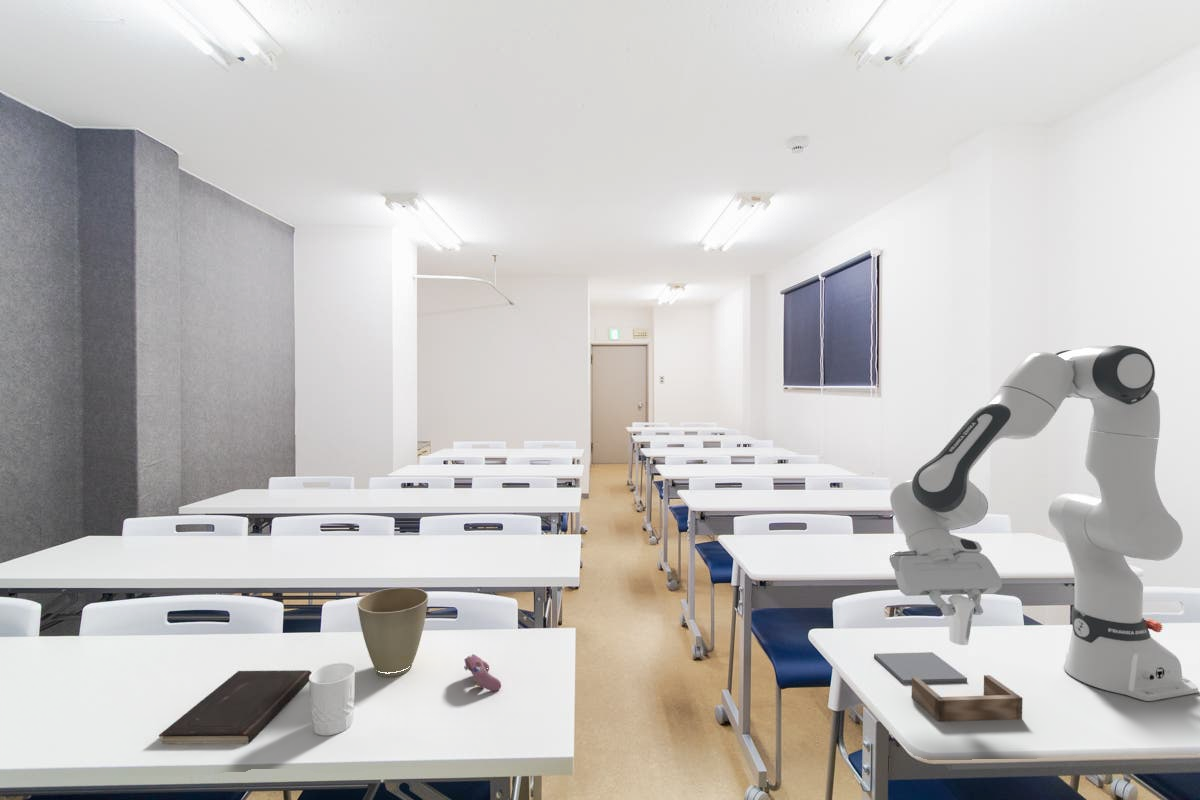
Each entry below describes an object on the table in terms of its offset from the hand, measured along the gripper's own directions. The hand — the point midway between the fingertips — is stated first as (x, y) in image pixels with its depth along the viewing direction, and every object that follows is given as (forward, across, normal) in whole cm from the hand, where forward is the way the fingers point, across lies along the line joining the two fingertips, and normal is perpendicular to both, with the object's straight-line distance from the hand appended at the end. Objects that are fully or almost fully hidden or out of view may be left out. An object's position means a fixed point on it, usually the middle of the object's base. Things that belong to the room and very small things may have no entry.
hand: (963, 614), depth 115 cm
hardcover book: (+8, -142, +18) cm, 144 cm away
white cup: (+13, -122, +12) cm, 123 cm away
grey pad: (+3, 0, +23) cm, 23 cm away
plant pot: (-2, -117, +27) cm, 120 cm away
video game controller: (+3, -97, +22) cm, 99 cm away
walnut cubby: (+13, 0, +12) cm, 18 cm away
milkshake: (+4, 0, +5) cm, 6 cm away
